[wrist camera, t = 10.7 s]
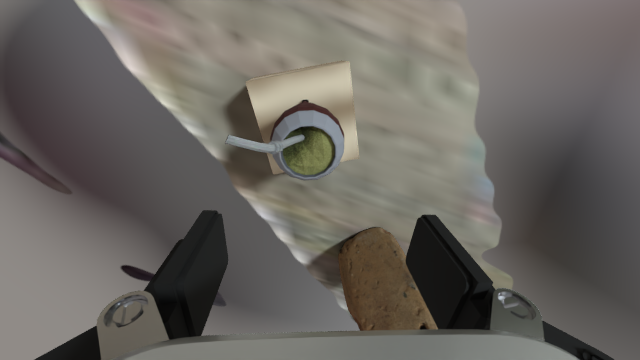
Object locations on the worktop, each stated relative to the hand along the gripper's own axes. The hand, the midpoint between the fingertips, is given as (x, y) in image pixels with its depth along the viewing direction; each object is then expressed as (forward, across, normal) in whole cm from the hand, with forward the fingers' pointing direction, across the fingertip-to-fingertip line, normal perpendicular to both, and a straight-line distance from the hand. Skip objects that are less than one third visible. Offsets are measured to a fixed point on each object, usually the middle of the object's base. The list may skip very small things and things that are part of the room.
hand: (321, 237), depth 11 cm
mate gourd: (+18, +1, -1) cm, 19 cm away
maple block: (+24, 0, -1) cm, 24 cm away
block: (+25, -11, +22) cm, 35 cm away
